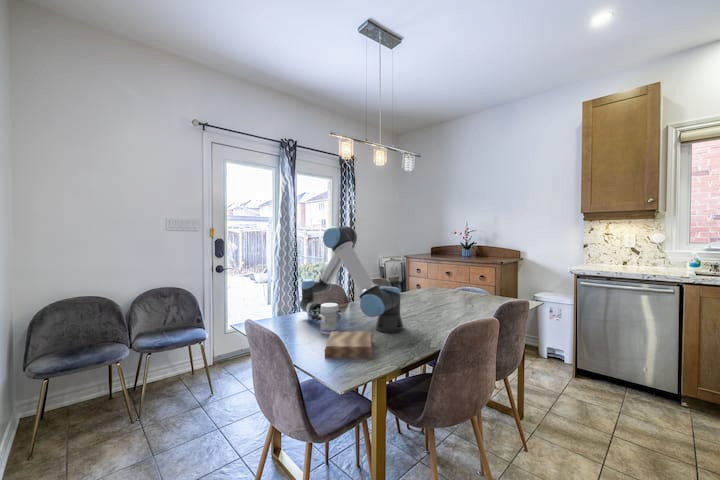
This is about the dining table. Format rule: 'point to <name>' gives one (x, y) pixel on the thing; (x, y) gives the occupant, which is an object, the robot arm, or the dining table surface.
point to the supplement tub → (330, 318)
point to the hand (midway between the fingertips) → (333, 318)
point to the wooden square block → (349, 345)
